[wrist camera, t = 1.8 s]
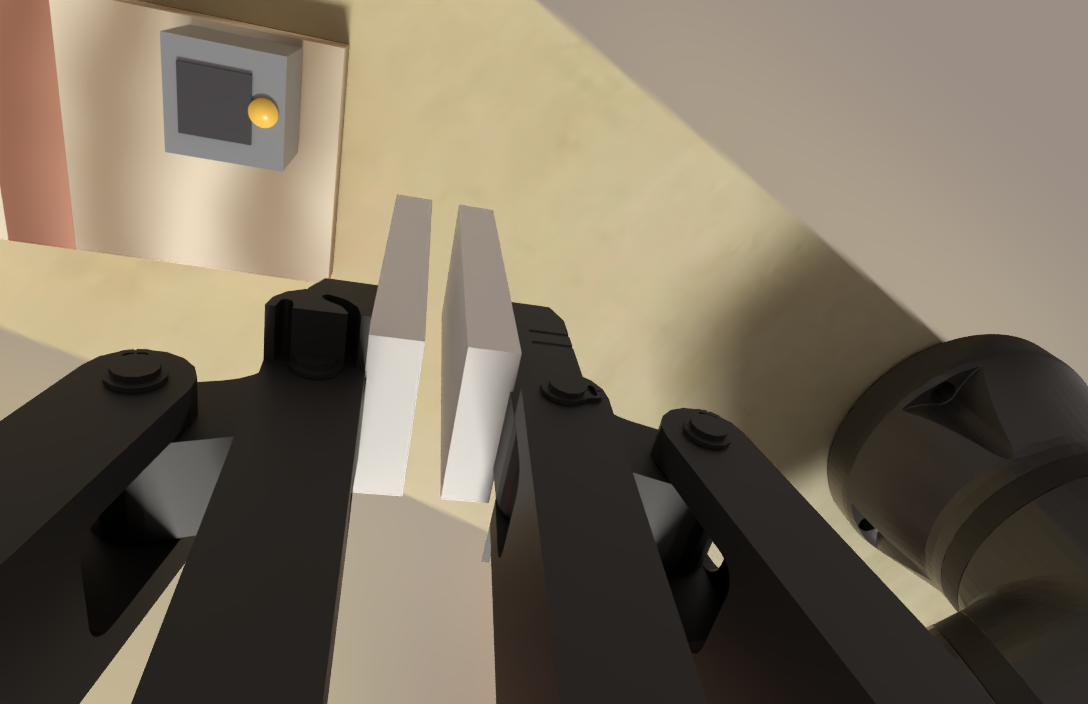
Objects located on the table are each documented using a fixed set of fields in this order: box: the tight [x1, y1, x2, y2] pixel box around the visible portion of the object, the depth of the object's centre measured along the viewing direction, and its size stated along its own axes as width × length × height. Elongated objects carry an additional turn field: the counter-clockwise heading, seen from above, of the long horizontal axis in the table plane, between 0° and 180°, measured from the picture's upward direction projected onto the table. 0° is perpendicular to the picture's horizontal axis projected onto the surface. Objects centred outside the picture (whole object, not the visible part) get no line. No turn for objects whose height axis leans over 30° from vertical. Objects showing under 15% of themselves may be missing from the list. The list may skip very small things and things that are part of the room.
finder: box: [160, 25, 303, 172], centre depth 25 cm, size 4×4×3 cm
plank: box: [0, 0, 349, 283], centre depth 28 cm, size 16×10×2 cm, turn 78°
